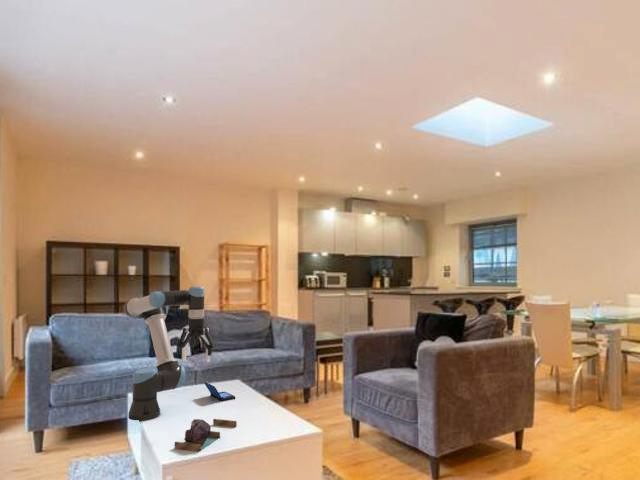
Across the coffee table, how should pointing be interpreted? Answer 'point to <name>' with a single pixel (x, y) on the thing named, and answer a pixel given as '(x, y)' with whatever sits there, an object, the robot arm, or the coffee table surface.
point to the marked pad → (206, 442)
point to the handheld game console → (221, 395)
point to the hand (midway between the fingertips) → (196, 361)
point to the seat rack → (212, 434)
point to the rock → (197, 432)
